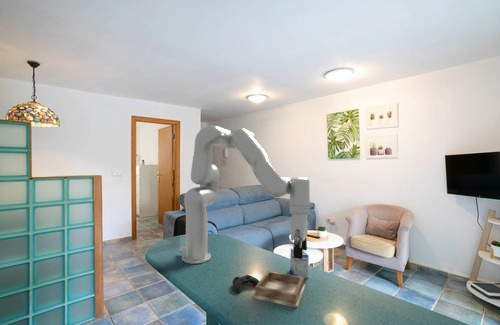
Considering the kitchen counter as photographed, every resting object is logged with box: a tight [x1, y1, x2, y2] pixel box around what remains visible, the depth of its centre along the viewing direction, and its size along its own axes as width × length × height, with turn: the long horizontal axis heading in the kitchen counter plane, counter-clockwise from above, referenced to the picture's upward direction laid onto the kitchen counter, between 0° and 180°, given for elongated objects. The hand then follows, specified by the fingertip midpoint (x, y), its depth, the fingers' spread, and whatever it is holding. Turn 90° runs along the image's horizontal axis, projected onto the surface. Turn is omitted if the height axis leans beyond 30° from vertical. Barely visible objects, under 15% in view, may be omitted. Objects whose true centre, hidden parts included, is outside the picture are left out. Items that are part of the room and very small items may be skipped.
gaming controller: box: [232, 274, 260, 294], centre depth 84 cm, size 10×5×6 cm
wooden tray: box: [252, 270, 306, 309], centre depth 80 cm, size 14×14×3 cm
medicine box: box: [289, 248, 310, 279], centre depth 94 cm, size 8×4×9 cm, turn 11°
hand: (300, 253), depth 94 cm, fingers open, 9 cm apart
